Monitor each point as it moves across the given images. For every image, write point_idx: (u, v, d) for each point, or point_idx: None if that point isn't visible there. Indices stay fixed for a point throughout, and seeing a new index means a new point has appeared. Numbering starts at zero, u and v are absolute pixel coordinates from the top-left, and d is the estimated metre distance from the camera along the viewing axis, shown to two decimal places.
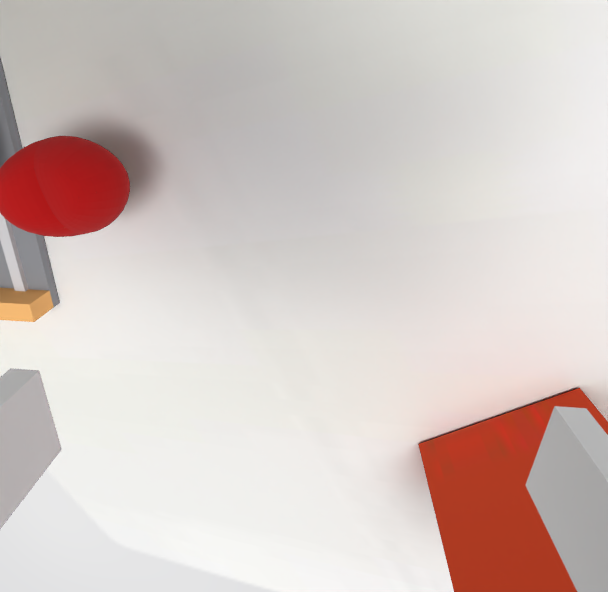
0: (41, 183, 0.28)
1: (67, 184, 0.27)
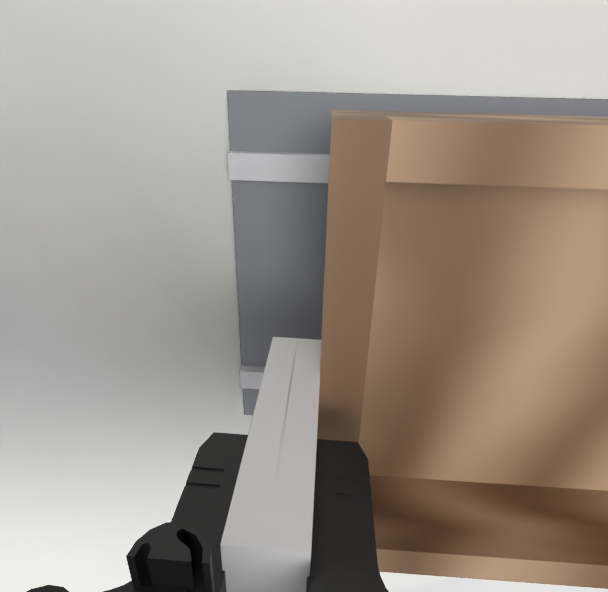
0: None
1: None
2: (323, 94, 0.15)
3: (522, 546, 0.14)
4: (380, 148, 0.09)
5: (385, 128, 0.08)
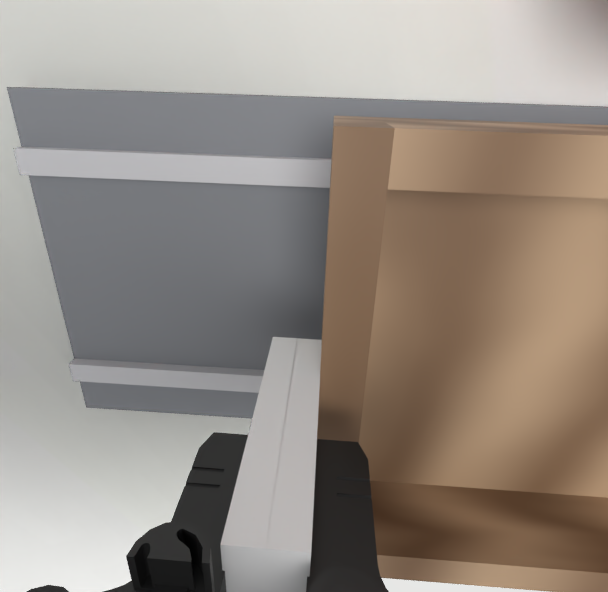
0: None
1: None
2: (99, 91, 0.16)
3: (521, 553, 0.14)
4: (382, 156, 0.09)
5: (387, 136, 0.08)
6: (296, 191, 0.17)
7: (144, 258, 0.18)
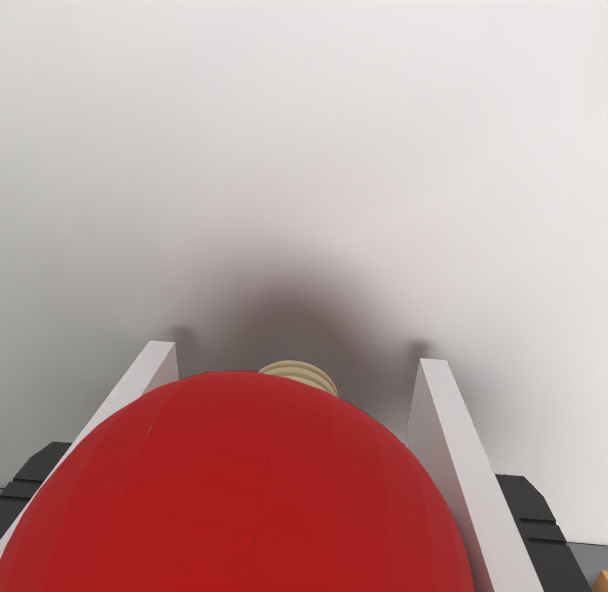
0: None
1: None
2: None
3: None
4: None
5: None
6: None
7: None
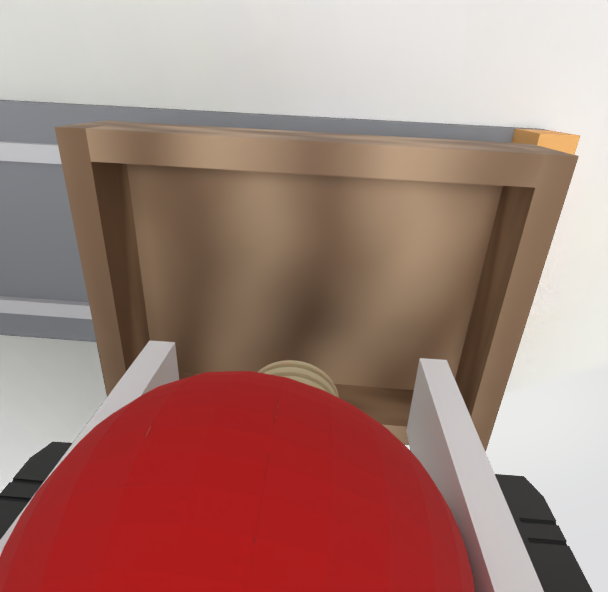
0: None
1: None
2: None
3: None
4: (83, 143, 0.16)
5: (82, 132, 0.16)
6: None
7: (9, 217, 0.26)
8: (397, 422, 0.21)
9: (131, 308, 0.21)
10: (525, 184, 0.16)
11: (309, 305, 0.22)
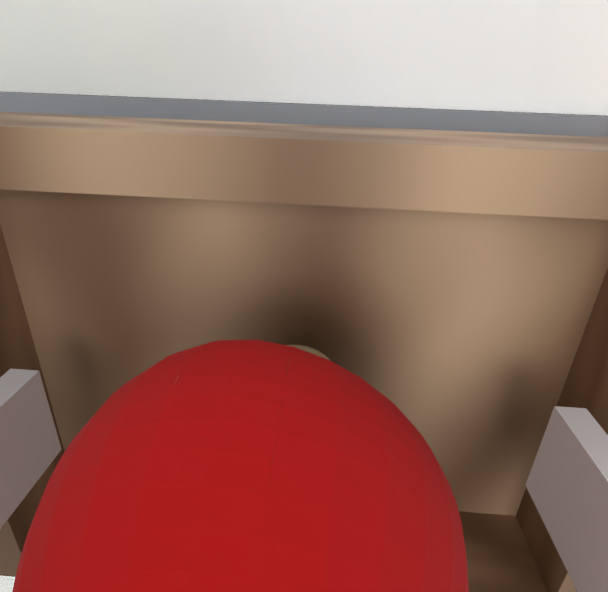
0: None
1: None
2: None
3: None
4: None
5: None
6: None
7: None
8: None
9: None
10: None
11: None
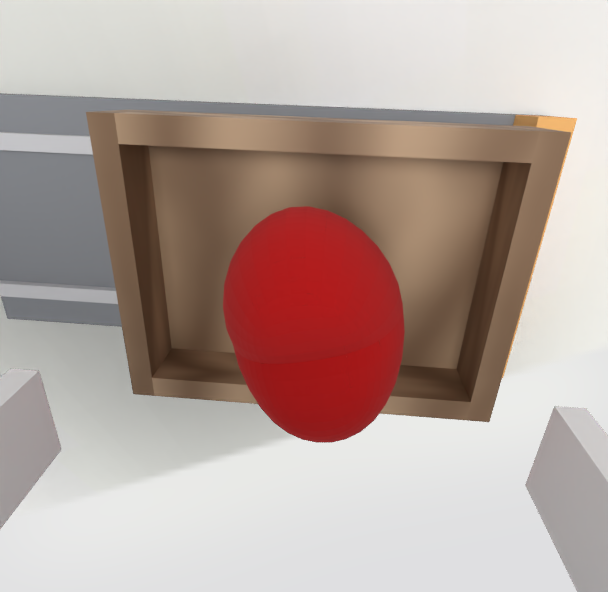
0: (283, 357, 0.14)
1: (280, 309, 0.13)
2: None
3: None
4: (112, 127, 0.18)
5: (111, 117, 0.17)
6: None
7: (36, 206, 0.28)
8: (404, 394, 0.22)
9: (152, 286, 0.22)
10: (522, 160, 0.17)
11: None
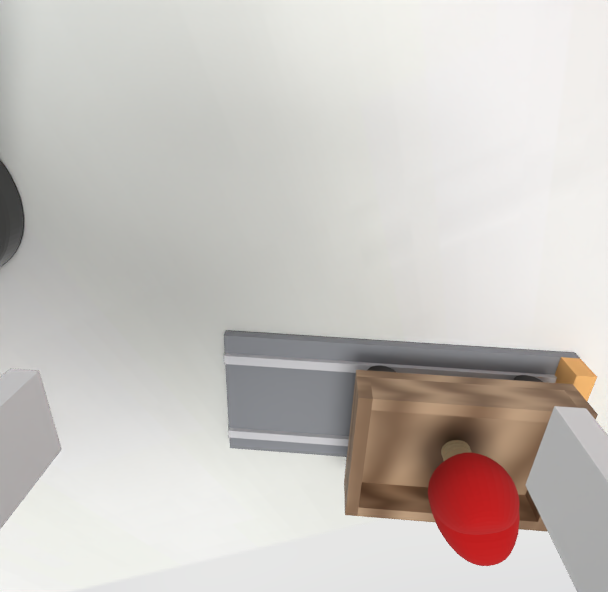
0: (473, 534, 0.32)
1: (480, 522, 0.31)
2: (258, 338, 0.43)
3: (419, 508, 0.41)
4: (369, 403, 0.36)
5: (371, 400, 0.35)
6: (329, 370, 0.44)
7: (266, 391, 0.45)
8: None
9: None
10: None
11: None
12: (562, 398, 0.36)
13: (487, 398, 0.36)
